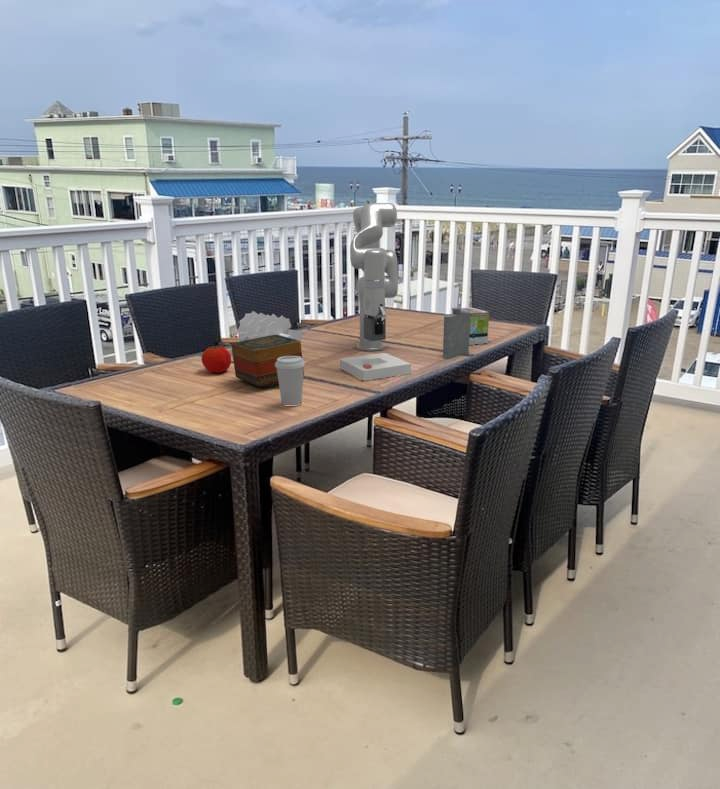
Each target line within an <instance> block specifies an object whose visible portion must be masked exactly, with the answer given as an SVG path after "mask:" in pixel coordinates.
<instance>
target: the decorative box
mask: <svg viewBox="0 0 720 789" xmlns="http://www.w3.org/2000/svg"><path fill="white" fill-rule="evenodd" d="M230 345H231V352H232V360H233V367H234V374H235V377H236V378H238V379H240V380H241V381H245V382H246V383H248V384H250V385H253V384H254V386H256V387H258V388H266V387H270V386H273V385H277V384H279V381H278V374H277V368H276V367H275V363H276V362H277V359H278V358H279V357H283V356H299V357H302V359H303V353H302V352H303V351H302V341H301V342H300V341H299V340H295V339H291V338H287V337H284V336H280V335H270V336H265V337H260V338H255V339H251V340H245V341H240V342H239V341H235V342H232V343H231V344H230ZM303 360H304V359H303ZM304 376H305V368H304V369H303V377H304Z"/></svg>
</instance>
